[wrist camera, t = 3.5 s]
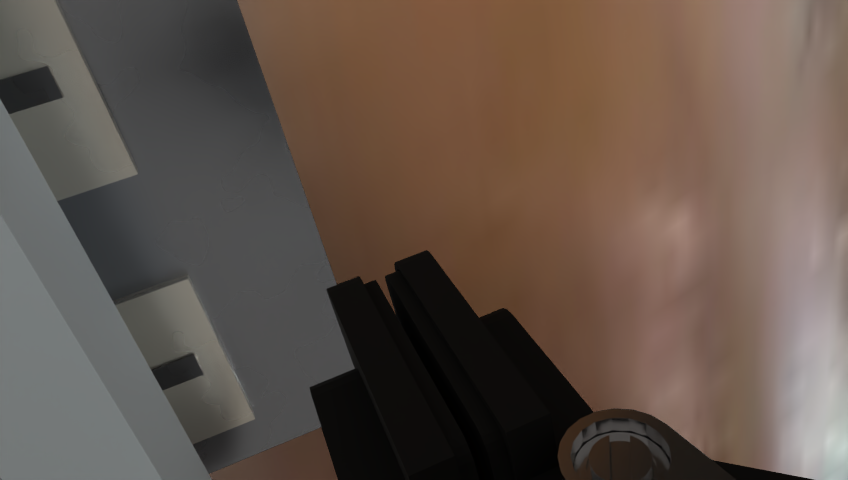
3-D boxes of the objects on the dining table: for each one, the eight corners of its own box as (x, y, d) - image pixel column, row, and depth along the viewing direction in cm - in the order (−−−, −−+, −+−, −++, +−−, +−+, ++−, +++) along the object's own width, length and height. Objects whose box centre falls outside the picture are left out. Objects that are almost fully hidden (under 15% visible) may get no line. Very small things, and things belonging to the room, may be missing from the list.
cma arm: (-205, -405, 10) (-370, -541, 7) (284, 543, 20) (305, 658, 17) (-535, -348, 9) (-886, -469, 6) (147, 603, 20) (145, 734, 17)
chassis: (123, -293, 18) (99, -405, 11) (337, 307, 27) (393, 439, 20) (-418, -177, 16) (-842, -228, 9) (19, 429, 25) (-32, 620, 18)
